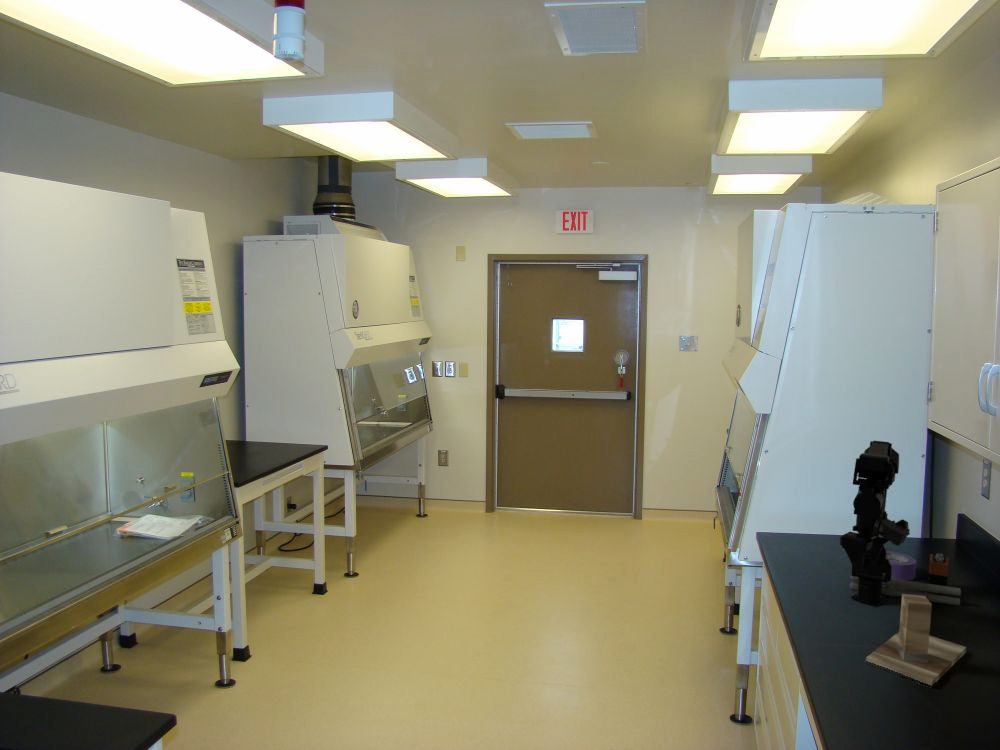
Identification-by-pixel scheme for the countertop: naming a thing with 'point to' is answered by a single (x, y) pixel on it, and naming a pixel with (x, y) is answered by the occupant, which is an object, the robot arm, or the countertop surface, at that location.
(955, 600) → the metal rod assembly
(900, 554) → the tape roll
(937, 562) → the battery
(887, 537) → the robot arm
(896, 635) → the subfloor panel
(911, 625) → the tall wooden post
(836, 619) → the countertop surface
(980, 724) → the countertop surface
